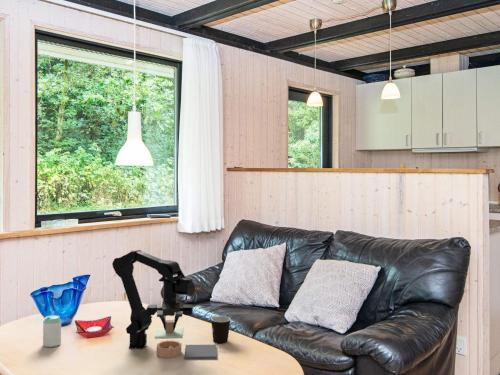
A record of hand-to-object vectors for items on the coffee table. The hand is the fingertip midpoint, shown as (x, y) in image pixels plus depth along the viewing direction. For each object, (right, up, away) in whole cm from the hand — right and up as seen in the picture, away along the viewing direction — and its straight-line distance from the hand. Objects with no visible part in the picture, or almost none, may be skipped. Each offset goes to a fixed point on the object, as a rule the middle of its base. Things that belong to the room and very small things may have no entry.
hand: (169, 330), depth 197 cm
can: (-51, -8, +6) cm, 52 cm away
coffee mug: (+20, -10, +17) cm, 28 cm away
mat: (+13, -10, +2) cm, 16 cm away
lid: (0, -1, 0) cm, 1 cm away
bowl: (0, -10, 0) cm, 10 cm away
